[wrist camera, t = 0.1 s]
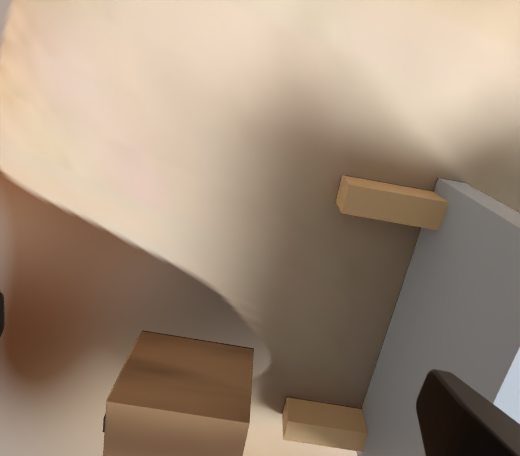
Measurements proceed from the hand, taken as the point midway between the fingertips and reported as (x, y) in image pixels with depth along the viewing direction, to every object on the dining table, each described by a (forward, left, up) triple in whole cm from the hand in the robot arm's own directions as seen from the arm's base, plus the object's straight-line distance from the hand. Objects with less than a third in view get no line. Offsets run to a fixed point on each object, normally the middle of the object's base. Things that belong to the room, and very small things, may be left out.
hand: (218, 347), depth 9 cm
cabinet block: (-13, +1, -15) cm, 20 cm away
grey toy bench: (-7, -8, -15) cm, 18 cm away
